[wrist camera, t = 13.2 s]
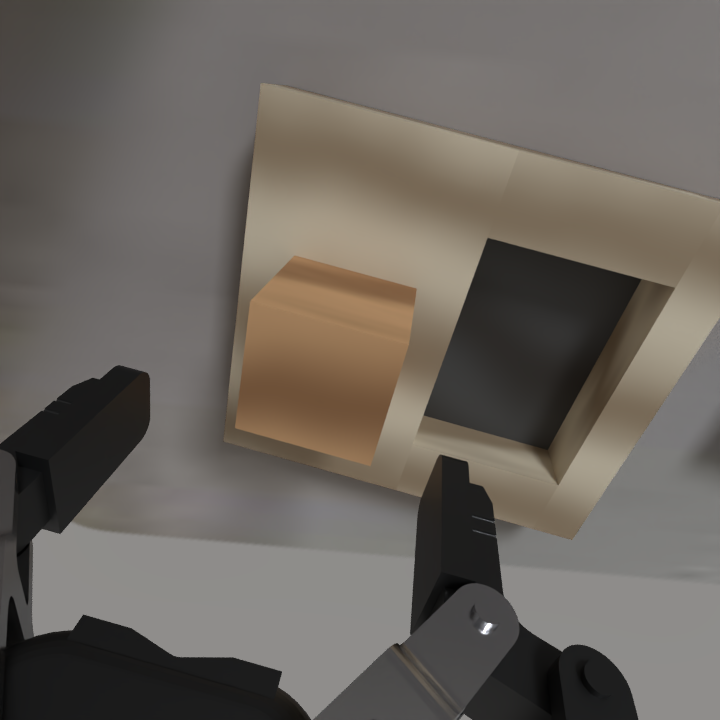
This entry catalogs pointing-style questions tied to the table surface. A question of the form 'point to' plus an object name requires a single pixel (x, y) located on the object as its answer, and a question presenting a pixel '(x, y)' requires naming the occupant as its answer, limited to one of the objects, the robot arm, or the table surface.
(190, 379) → the table surface
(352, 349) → the cube
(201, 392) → the table surface
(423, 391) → the hole board
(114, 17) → the table surface
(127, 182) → the table surface
